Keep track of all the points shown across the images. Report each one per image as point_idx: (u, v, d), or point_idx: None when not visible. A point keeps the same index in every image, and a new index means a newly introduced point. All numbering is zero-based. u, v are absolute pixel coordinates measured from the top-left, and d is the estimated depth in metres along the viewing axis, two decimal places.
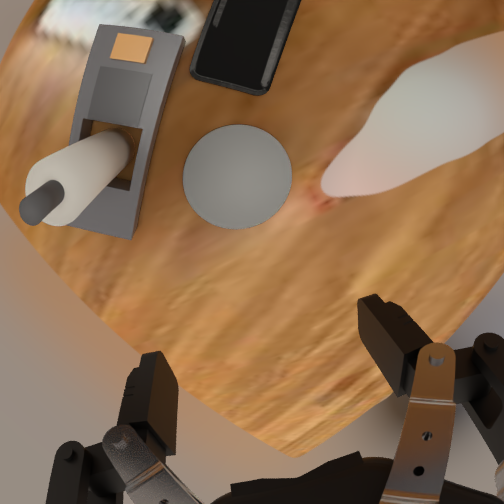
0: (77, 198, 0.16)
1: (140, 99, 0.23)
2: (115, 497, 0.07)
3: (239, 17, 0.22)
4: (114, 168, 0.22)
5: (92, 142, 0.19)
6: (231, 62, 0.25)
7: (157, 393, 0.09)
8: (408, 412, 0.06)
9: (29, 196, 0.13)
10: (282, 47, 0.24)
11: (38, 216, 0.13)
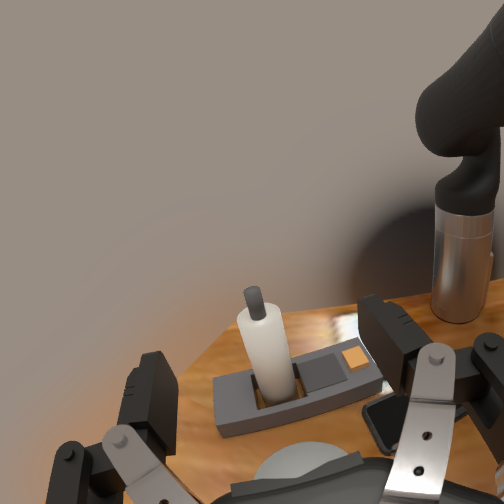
0: (260, 326, 0.29)
1: (327, 384, 0.33)
2: (115, 497, 0.07)
3: None
4: (276, 374, 0.31)
5: (288, 350, 0.32)
6: (390, 420, 0.28)
7: (157, 392, 0.09)
8: (408, 412, 0.06)
9: (259, 288, 0.29)
10: None
11: (250, 294, 0.29)
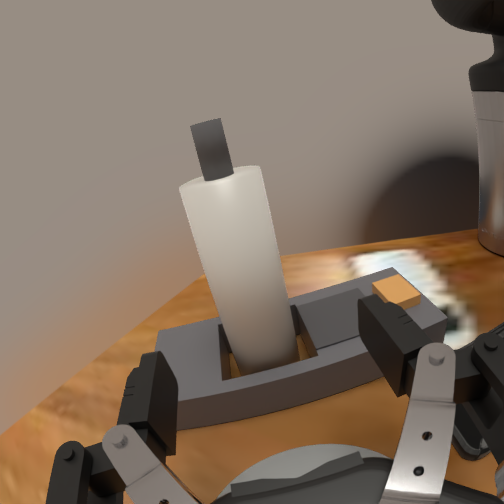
0: (219, 182, 0.14)
1: (352, 334, 0.19)
2: (115, 497, 0.07)
3: None
4: (256, 302, 0.17)
5: (280, 260, 0.18)
6: None
7: (157, 393, 0.09)
8: (408, 412, 0.06)
9: None
10: None
11: None
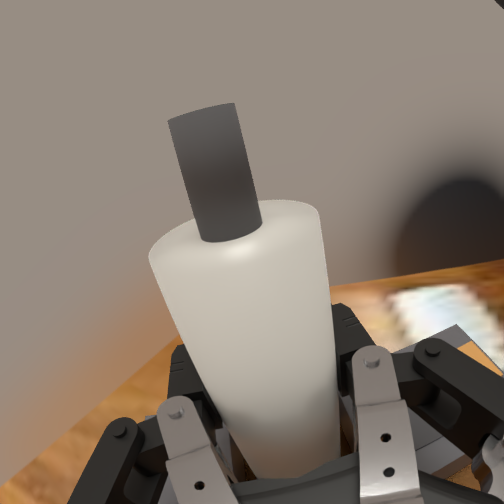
0: (234, 255, 0.06)
1: (419, 441, 0.10)
2: (158, 479, 0.07)
3: None
4: (296, 442, 0.08)
5: None
6: None
7: None
8: (359, 419, 0.06)
9: None
10: None
11: (192, 112, 0.06)
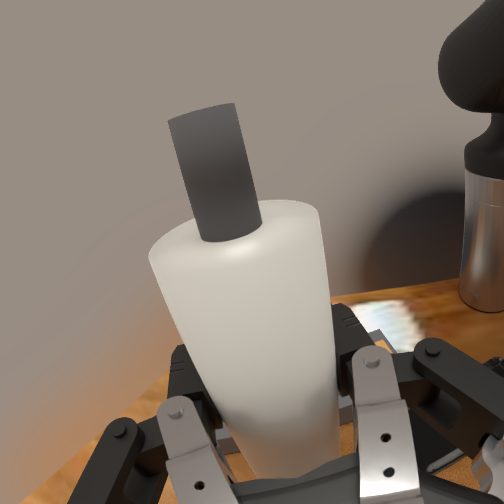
0: (234, 255, 0.06)
1: None
2: (158, 479, 0.07)
3: None
4: (296, 441, 0.08)
5: None
6: (424, 433, 0.20)
7: None
8: (359, 419, 0.06)
9: None
10: None
11: (192, 112, 0.06)
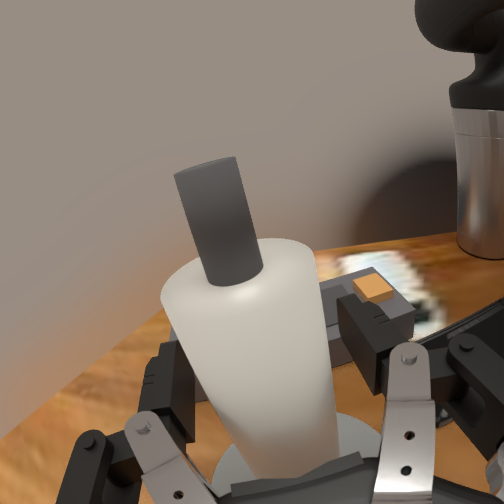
0: (238, 302, 0.07)
1: (334, 322, 0.23)
2: (132, 488, 0.07)
3: None
4: (297, 455, 0.09)
5: None
6: None
7: (177, 380, 0.10)
8: (387, 414, 0.06)
9: None
10: None
11: (196, 169, 0.07)
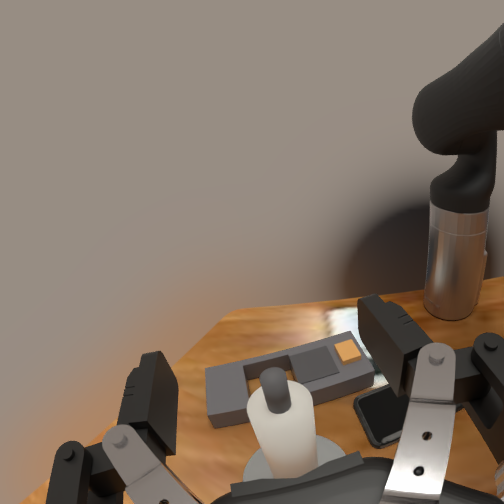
0: (284, 424, 0.17)
1: (319, 376, 0.34)
2: (115, 497, 0.07)
3: None
4: (298, 467, 0.20)
5: None
6: (381, 413, 0.29)
7: (157, 393, 0.09)
8: (408, 412, 0.06)
9: (284, 372, 0.18)
10: None
11: (271, 383, 0.17)
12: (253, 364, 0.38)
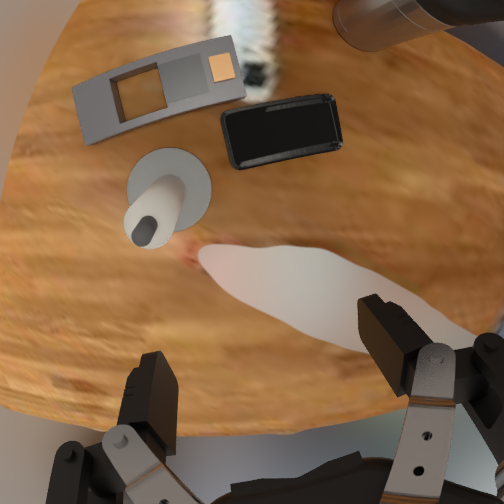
0: (154, 243, 0.26)
1: (187, 94, 0.31)
2: (115, 497, 0.07)
3: (281, 122, 0.36)
4: None
5: (179, 205, 0.30)
6: (245, 135, 0.36)
7: (157, 393, 0.09)
8: (408, 412, 0.06)
9: (150, 231, 0.22)
10: (275, 161, 0.38)
11: (141, 243, 0.22)
12: (120, 75, 0.29)
